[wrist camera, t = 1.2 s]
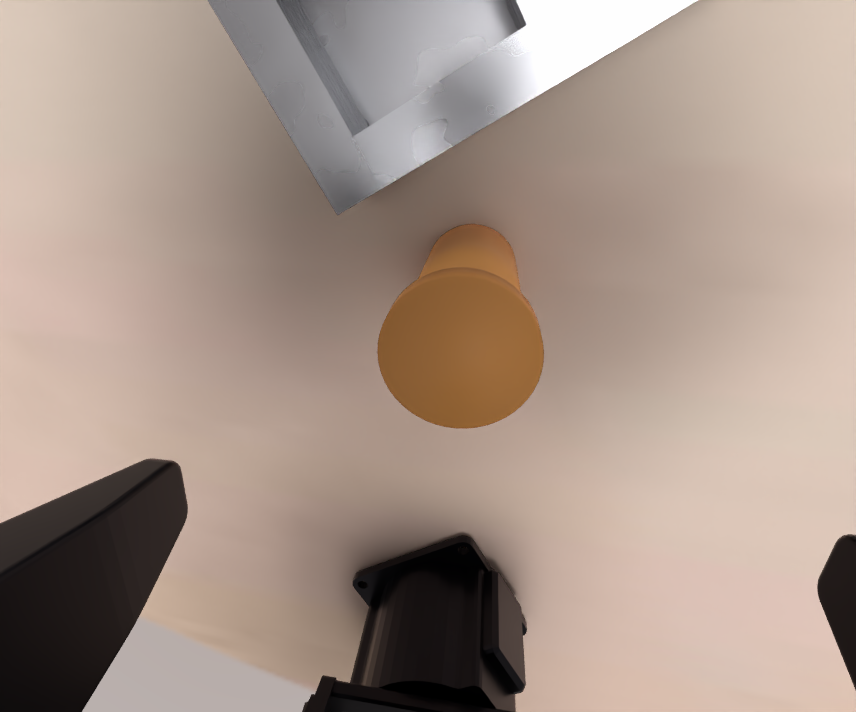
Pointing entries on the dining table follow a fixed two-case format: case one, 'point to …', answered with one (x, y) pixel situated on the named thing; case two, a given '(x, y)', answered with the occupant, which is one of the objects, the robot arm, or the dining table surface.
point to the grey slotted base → (414, 71)
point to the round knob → (463, 334)
